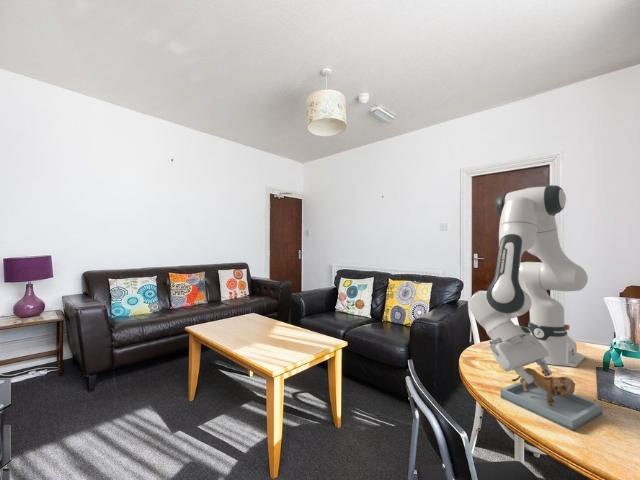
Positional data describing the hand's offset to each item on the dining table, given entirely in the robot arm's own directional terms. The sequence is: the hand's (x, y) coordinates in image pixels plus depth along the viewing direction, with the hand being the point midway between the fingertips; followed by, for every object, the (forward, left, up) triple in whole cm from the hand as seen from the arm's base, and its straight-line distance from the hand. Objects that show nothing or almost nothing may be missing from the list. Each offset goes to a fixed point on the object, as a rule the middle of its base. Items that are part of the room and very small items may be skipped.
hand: (541, 378), depth 86 cm
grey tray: (0, +2, -7) cm, 7 cm away
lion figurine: (0, 0, -6) cm, 6 cm away
